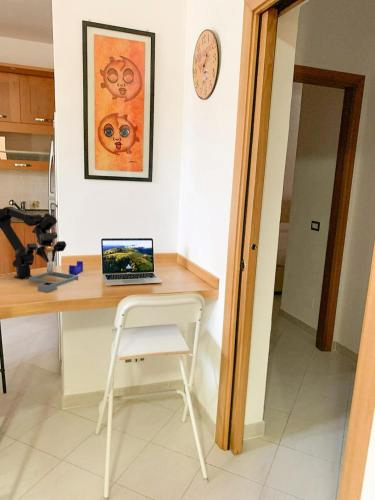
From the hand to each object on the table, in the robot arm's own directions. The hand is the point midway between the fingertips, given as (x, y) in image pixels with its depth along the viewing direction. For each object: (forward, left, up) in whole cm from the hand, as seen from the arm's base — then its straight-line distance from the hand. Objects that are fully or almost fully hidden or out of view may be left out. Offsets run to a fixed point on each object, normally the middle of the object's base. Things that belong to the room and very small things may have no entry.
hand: (50, 261), depth 183 cm
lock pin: (-1, +1, -6) cm, 6 cm away
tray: (-5, +8, -13) cm, 16 cm away
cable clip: (-7, +28, -14) cm, 32 cm away
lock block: (+4, -7, -13) cm, 16 cm away
